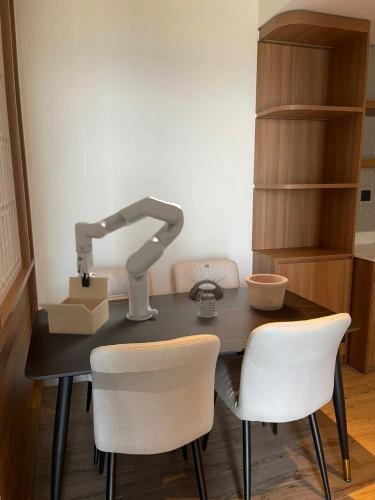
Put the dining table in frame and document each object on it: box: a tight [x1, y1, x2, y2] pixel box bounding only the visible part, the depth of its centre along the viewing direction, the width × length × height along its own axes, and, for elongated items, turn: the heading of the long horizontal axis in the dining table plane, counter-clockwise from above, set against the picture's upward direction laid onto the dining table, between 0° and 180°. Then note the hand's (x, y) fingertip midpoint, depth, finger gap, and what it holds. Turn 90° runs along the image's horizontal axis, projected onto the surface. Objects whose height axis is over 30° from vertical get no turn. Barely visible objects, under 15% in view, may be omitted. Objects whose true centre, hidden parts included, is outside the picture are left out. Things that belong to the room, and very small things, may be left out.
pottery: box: [244, 273, 290, 311], centre depth 198 cm, size 22×22×14 cm
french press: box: [196, 264, 218, 318], centre depth 184 cm, size 10×12×25 cm
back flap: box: [68, 276, 109, 298], centre depth 183 cm, size 19×10×1 cm
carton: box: [47, 296, 110, 335], centre depth 173 cm, size 20×20×10 cm
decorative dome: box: [189, 279, 224, 302], centre depth 216 cm, size 19×20×10 cm
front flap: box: [37, 302, 91, 313], centre depth 158 cm, size 19×10×1 cm
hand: (85, 286), depth 181 cm, fingers closed
